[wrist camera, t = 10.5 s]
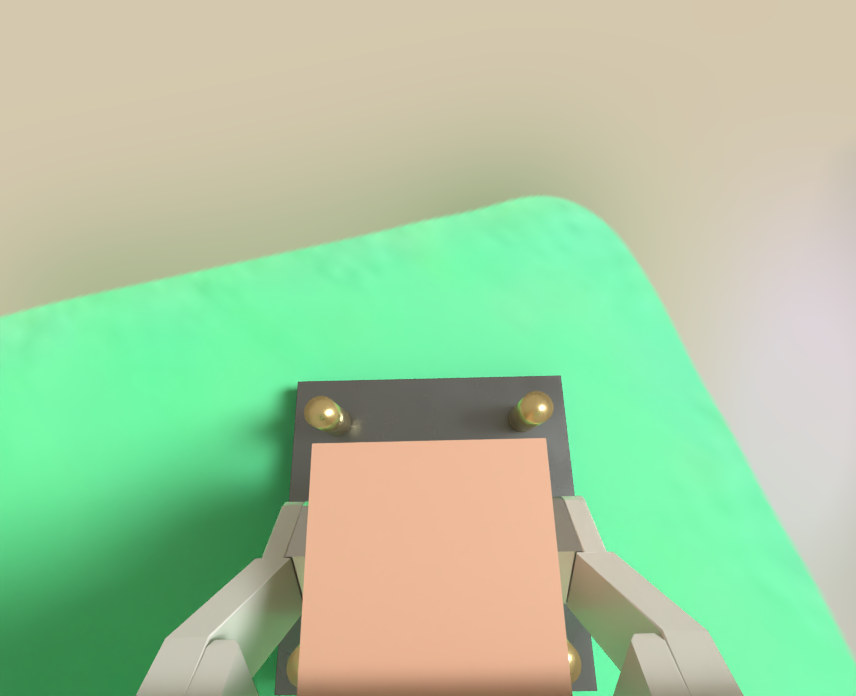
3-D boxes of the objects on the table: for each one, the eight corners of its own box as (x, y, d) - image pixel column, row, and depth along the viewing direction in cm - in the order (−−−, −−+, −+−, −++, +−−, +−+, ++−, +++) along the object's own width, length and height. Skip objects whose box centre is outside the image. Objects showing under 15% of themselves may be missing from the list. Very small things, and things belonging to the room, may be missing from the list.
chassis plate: (285, 681, 17) (239, 740, 13) (305, 387, 21) (274, 364, 17) (586, 677, 17) (632, 735, 13) (553, 381, 21) (582, 357, 17)
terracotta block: (371, 599, 14) (295, 727, 7) (374, 463, 16) (312, 443, 8) (503, 597, 14) (575, 725, 7) (494, 460, 16) (546, 437, 8)
